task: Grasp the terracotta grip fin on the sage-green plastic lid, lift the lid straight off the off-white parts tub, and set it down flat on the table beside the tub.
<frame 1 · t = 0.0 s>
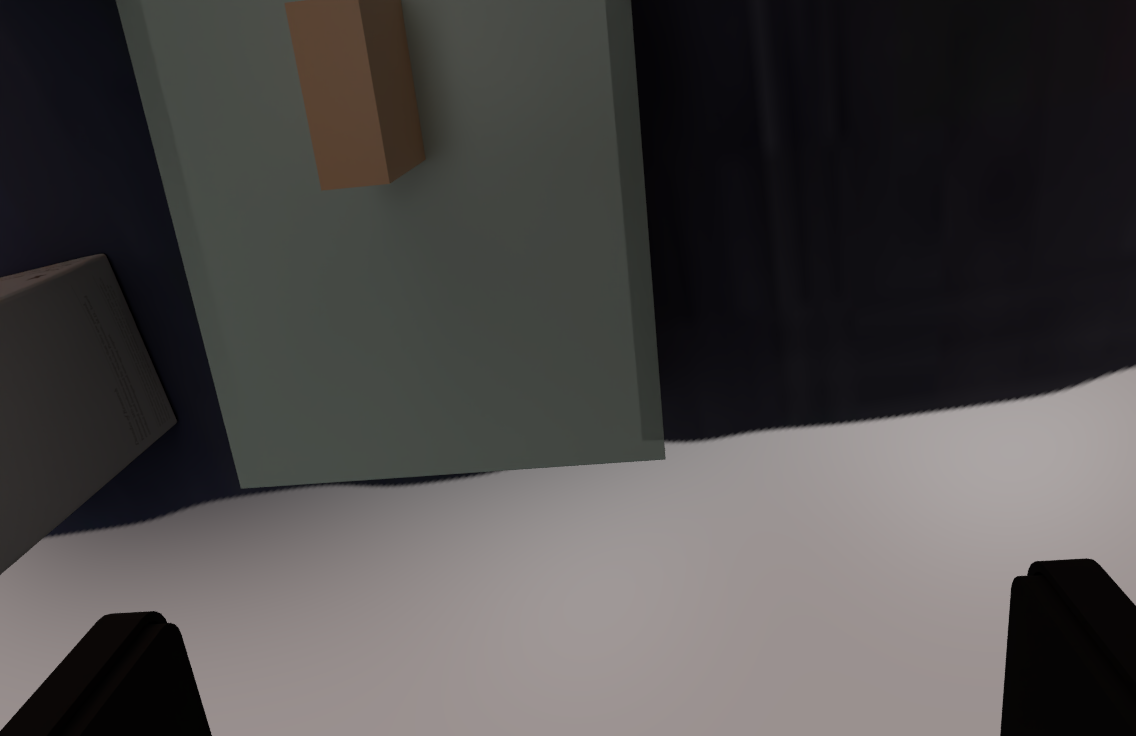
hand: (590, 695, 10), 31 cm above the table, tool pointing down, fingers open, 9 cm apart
supplement box: (63, 356, 44), on the table
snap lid: (404, 173, 32), point 8 cm above the table, touching parts tub
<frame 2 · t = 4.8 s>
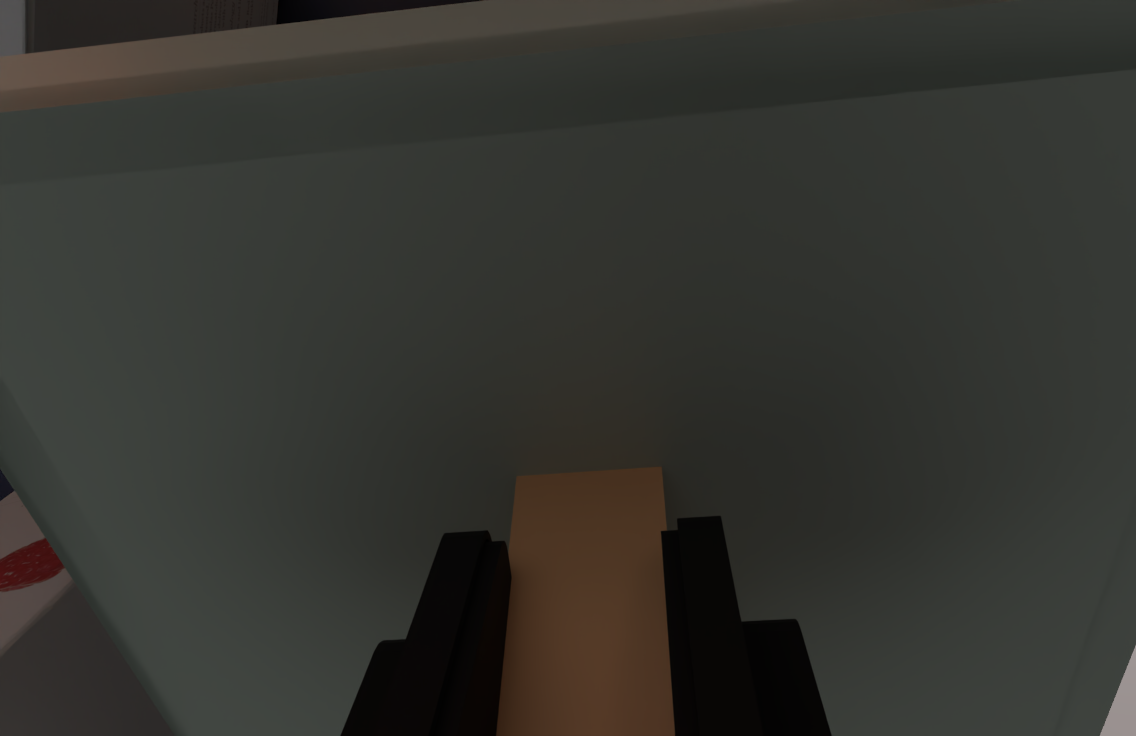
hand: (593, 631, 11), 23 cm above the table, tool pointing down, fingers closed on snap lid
supplement box: (160, 550, 38), on the table
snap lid: (620, 666, 16), point 19 cm above the table, tilted 17°, touching gripper
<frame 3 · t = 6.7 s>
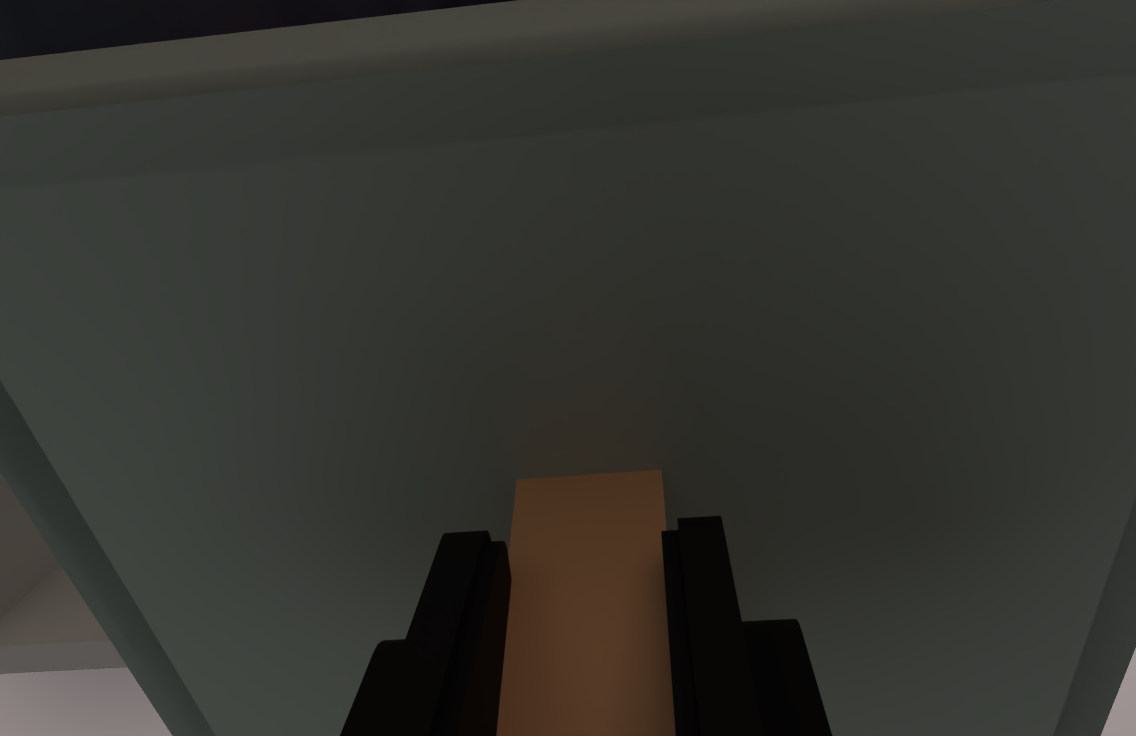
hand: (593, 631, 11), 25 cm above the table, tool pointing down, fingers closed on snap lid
parts tub: (161, 339, 38), on the table
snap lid: (620, 668, 16), point 21 cm above the table, tilted 16°, touching gripper
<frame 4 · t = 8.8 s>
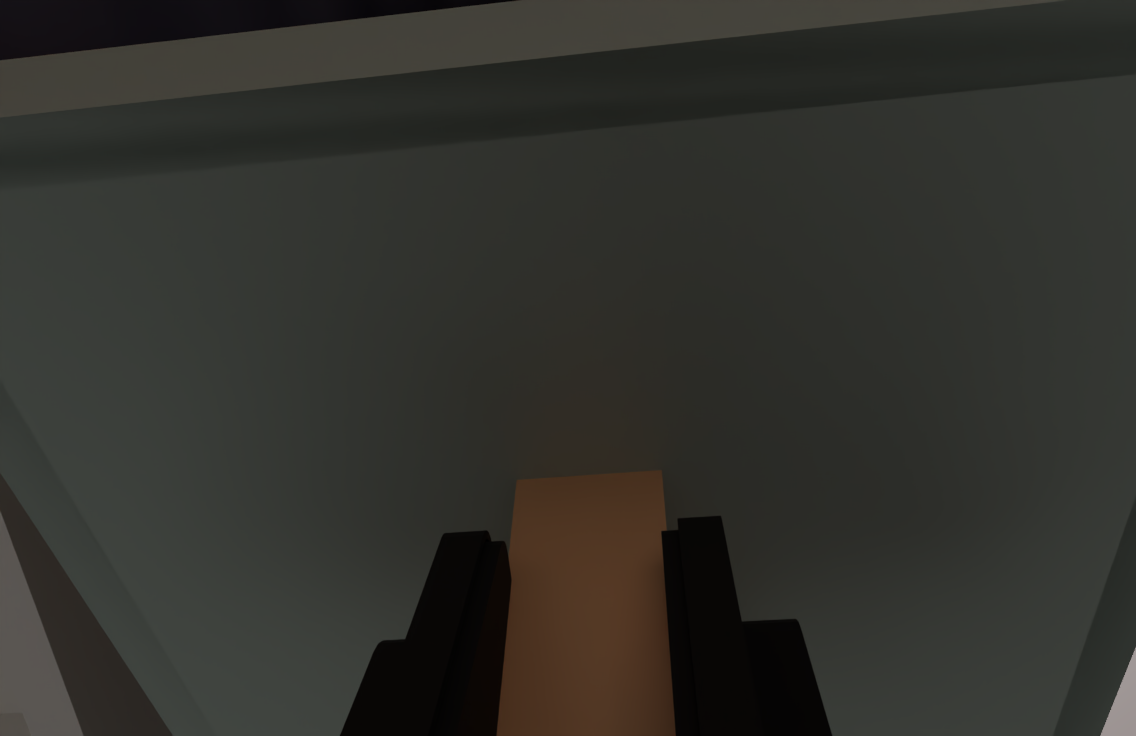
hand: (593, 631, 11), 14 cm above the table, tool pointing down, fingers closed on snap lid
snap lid: (620, 668, 16), point 10 cm above the table, tilted 15°, touching gripper
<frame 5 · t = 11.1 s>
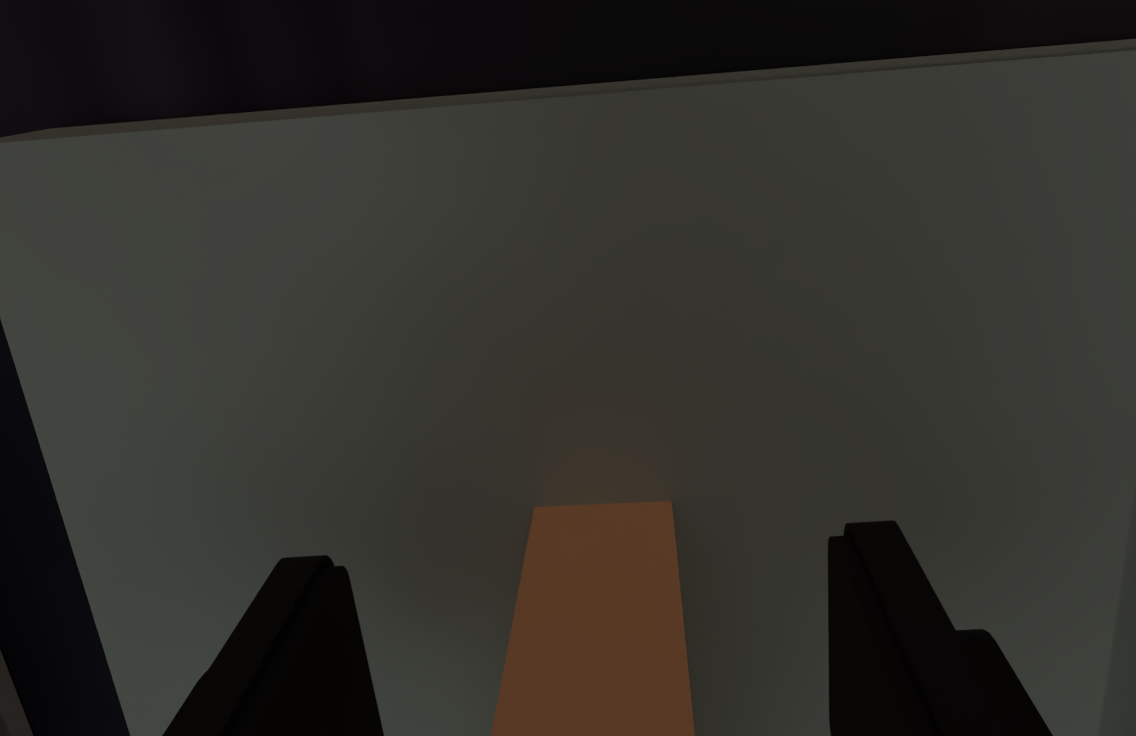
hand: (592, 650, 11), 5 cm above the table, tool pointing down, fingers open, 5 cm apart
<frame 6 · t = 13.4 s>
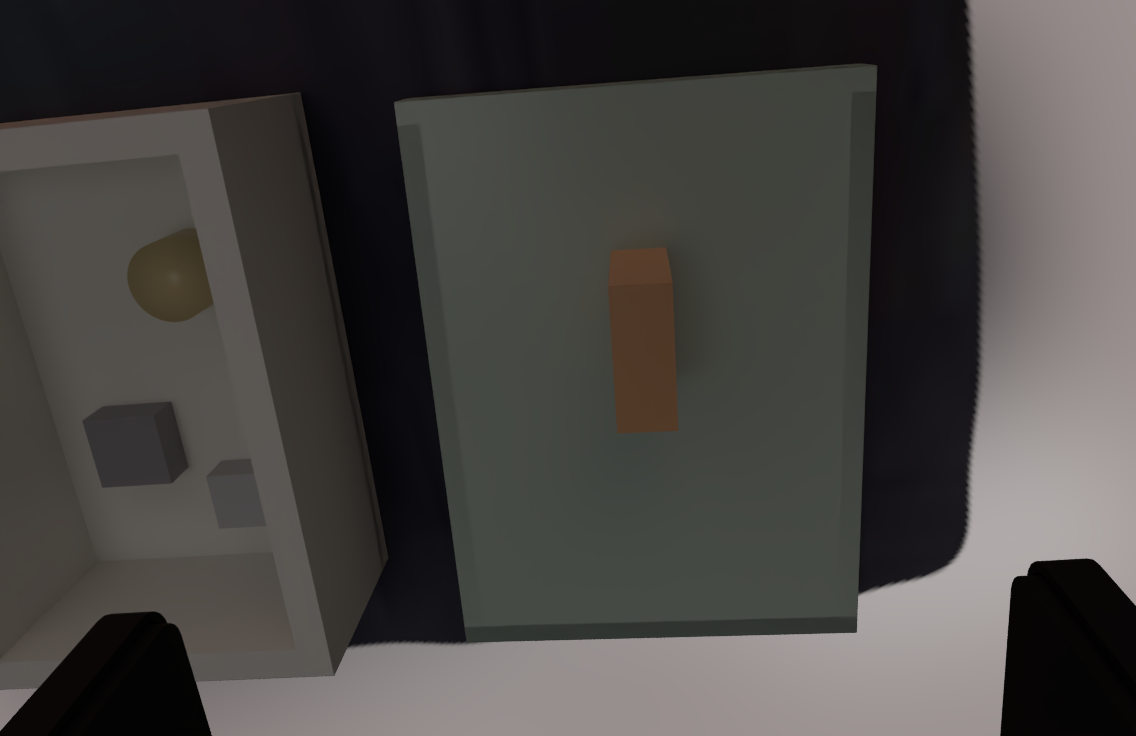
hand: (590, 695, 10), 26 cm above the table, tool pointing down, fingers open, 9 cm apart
parts tub: (185, 358, 38), on the table
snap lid: (645, 383, 36), point 1 cm above the table
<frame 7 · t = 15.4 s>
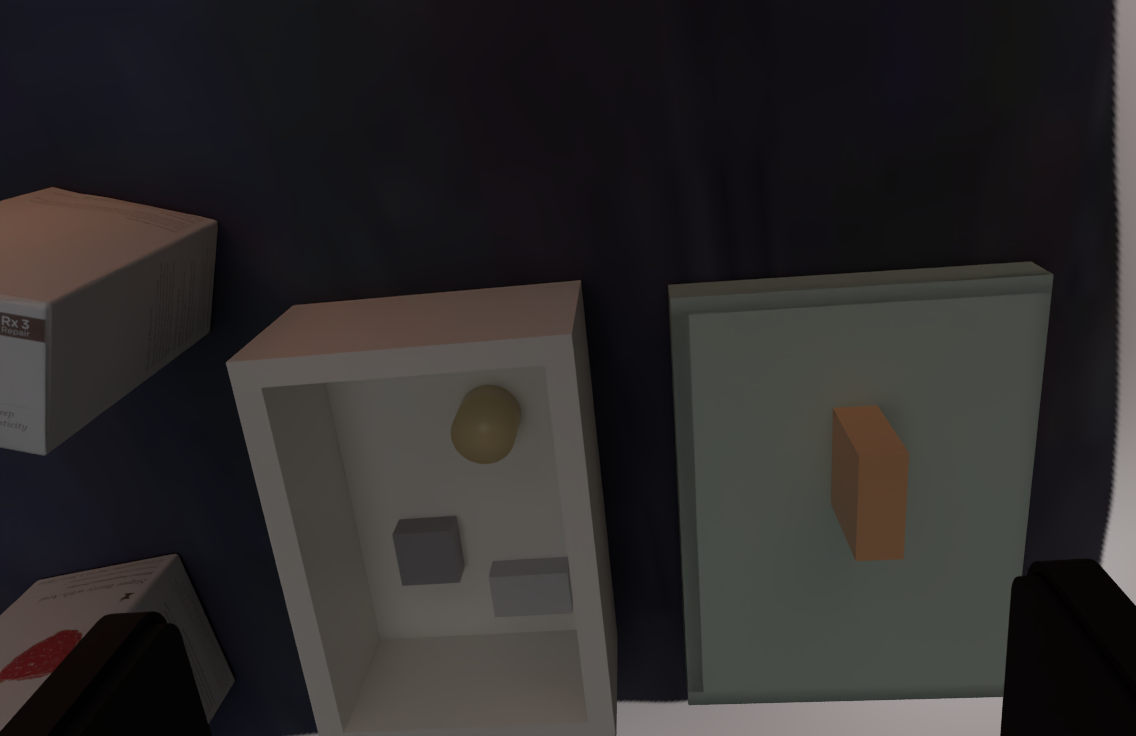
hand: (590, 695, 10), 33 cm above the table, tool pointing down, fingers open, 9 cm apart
supplement box: (139, 627, 52), on the table
skincare box: (141, 256, 44), on the table
parts tub: (465, 479, 47), on the table
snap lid: (848, 503, 45), point 1 cm above the table
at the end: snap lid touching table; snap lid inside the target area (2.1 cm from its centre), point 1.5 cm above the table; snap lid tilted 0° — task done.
